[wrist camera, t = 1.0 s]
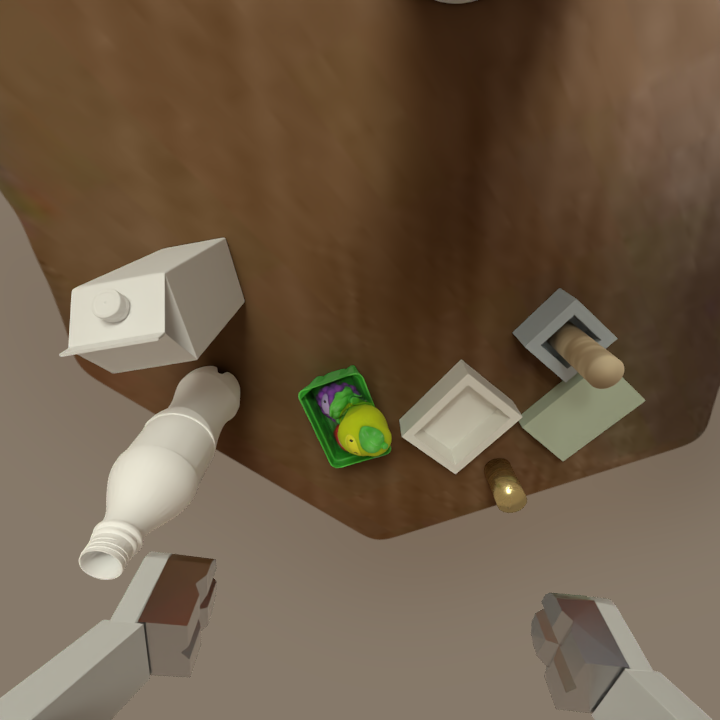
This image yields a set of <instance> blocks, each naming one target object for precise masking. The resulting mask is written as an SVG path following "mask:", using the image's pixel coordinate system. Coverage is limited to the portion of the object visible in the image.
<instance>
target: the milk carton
mask: <svg viewBox="0 0 720 720" xmlns="http://www.w3.org/2000/svg"><path fill="white" fill-rule="evenodd" d="M244 302H245V300H244V297H243V294H242V290H241V287H240V284H239V281H238V277H237V274H236V271H235V268H234V264H233V261H232V258H231V255H230V251H229V248H228V245H227V242H226V239H225V238H219V239H213V240H208V241H202V242H197V243H191V244H186V245H181V246H175V247H170V248H165V249H161V250H159V251H157V252H154V253H152V254H150V255H148V256H145V257H143V258H141V259H139V260H137V261H134V262H132V263H130V264H128V265H125V266H123V267H121V268H119V269H116V270H114V271H112V272H110V273H107V274H105V275H103V276H101V277H98V278H96V279H94V280H92V281H89V282H87V283H85V284H83V285H81V286H78V287H76V288H75V289H73V290H72V297H71V313H70V330H69V346H68V349H67V350H65V351H63V352H62V353H60V354H59V355H60V357H62V356H68V355H74V354H78V355H80V356H82V357H83V358H85V359H87V360H89V361H91V362H93V363H95V364H96V365H98V366H100V367H102V368H104V369H106V370H108V371H110V372H111V373H120V372H126V371H132V370H138V369H145V368H151V367H157V366H163V365H169V364H176V363H182V362H188V361H194V360H198V358H199V357H200V356H201V354H202V353H203V352H204V351H205V350H206V348H207V347H208V346H209V345H210V343H211V342H212V341H213V340H214V339H215V337H216V336H217V335H218V334H219V333H220V331H221V330H222V329H223V328H224V327H225V325H226V324H227V323H228V322H229V321H230V319H231V318H232V317H233V316H234V314H235V313H236V312H237V311H238V310H239V308H240V307H241V306H242V305H243V304H244Z"/></svg>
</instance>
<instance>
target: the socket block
mask: <svg viewBox="0 0 720 720" xmlns="http://www.w3.org/2000/svg"><path fill="white" fill-rule="evenodd" d="M568 320H569V321H570V322H571V323H573V324H574V325H575V326H577V327H578V328H579V329H580V330H582V331H583V332H584V333H586V334H587V335H588V336H589V337H591V338H592V339H593V340H595V341H596V342H597V343H598V344H600V345H601V346H602V347H604V348H605V349H606V348H607V347H608V346H610V345H611V344H612V343H613V342H614V341H615V340H617V339H618V338H617V337H616V336H615V335H614V334H612V333H611V332H610V331H609V330H608V329H607V328H606V327H605V326H604V325H603V324H602V323H601V322H600V321H599V320H598V319H597V318H596V317H595V316H594V315H593V314H592V313H591V312H590V311H589V310H588V309H587V308H586V307H585V306H583V305H582V304H581V303H580V302H579V301H578V300H577V299H576V298H575V297H573V296H571V295H570V294H568V293H567V292H565V291H564V290H562V289H561V288H559V289H558V290H557V291H556V292H555V293H554V294H552V295H551V296H550V297H549V298H548V299H547V300H546V301H545V302H544V303H543V304H542V305H541V306H540V307H539V308H538V309H537V310H536V311H535V312H534V313H532V314H531V315H530V316H529V317H528V318H527V319H526V320H525V321H524V322H523V323H522V324H521V325H520V326H519V327H518V328H517V329H516V330H515V331H514V332H512V333H513V334H514V335H515V336H516V337H517V339H518V340H519V341H520V342H521V343H522V344H523V346H524V347H525V348H527V349H528V350H529V351H530V352H531V353H532V354H533V355H535V356H536V357H537V358H538V359H539V360H540V361H541V362H543V363H544V364H545V365H546V366H547V367H548V368H550V369H551V370H552V371H553V372H554V373H555V374H556V375H558V376H559V377H560V378H561V379H562V380H563V381H564V382H567V381H568V380H569V379H571V378H572V377H573V376H574V375H575V374H577V373H578V372H577V371H576V370H575V369H574V368H573V367H572V366H571V365H570V364H569V363H568V362H567V361H566V360H565V359H564V358H563V357H562V356H561V355H560V354H559V353H558V352H557V351H556V350H555V349H554V348H553V347H552V346H551V345H550V344H549V343H548V342H547V341H546V340H547V339H548V338H550V337H551V336H552V335H553V334H554V333H555V332H556V331H557V330H558V329H559V328H561V327H562V326H563V325H564V324H565V323H566V322H567V321H568Z"/></svg>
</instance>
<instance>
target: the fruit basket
mask: <svg viewBox="0 0 720 720" xmlns="http://www.w3.org/2000/svg"><path fill="white" fill-rule="evenodd" d="M298 398H299V400H300V402H301V404H302V406H303V408H304V410H305V413H306V415H307V416H308V418H309V421H310V423H311V425H312V427H313V429H314V431H315V433H316V436H317V438H318V440H319V442H320V444H321V446H322V448H323V450H324V452H325V454H326V456H327V459H328V461H329V463H330V465H331V466H332V467H335V468H342V467H345V466H349V465H352V464H355V463H359V462H362V461H366V460H369V459H373V458H377V457H381V456H384V455H387V454H389V453H390V451H391V446H390V444H391V439H392V437H391V433H390V431H389V429H388V425H387V422H386V419H385V417H384V416H383V414H382V413H381V412H380V411H379V410H378V409H377V408H375V406H374V403H373V401H372V398H371V396H370V393H369V391H368V388H367V385H366V383H365V380H364V378H363V376H362V375H361V374H360V373H359V372H358V370H357V368H356V367H355V366H354V365H352V366H350V367H348V368H347V369H340V370H337V371H334V372H330V373H327V374H326V375H325V376H318V377H316V378H315V379H314V380H313V381H312V382H311V383H310V384H309V385H308V386H307V387H305V388H304V389H303V390H301V391H300V392H299V395H298Z"/></svg>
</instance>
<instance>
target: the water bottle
mask: <svg viewBox="0 0 720 720" xmlns="http://www.w3.org/2000/svg"><path fill="white" fill-rule="evenodd" d="M239 406H240V386H239V383H238V381H237V379H236V378H235V377H234V375H232V374H231V373H229V372H226V373H223V374H220V373H218V370H217V367H214V366H204V367H200V368H197V369H195V370H193V371H191V372H190V373H189V374H187V375H186V376H185V377H184V378H183V379H182V380H181V381H180V383H179V384H178V386H177V389H176V392H175V395H174V398H173V400H172V403H171V404H170V406H169V407H168V409H165V410H163V411H161V412H159V413H157V414H156V415H154V416H153V417H152V418H151V419H150V420H149V421H148V422H147V423H146V424H145V426H144V429H143V430H142V432H141V433H140V434H139V435H138V437H137V438H136V439H135V440H134V442H133V443H132V444H131V445H130V446H129V448H128V449H127V450H126V451H124V452H123V453H122V454H121V455H120V456H119V457H118V459H117V460H116V462H115V463H114V465H113V467H112V469H111V471H110V474H109V479H108V483H107V495H106V514H105V517H104V520H103V521H102V522H100V523H99V524H97V526H96V527H95V528H94V530H93V533H92V535H91V538H90V542H89V543H88V545H87V546H86V547H85V549H84V550H83V551H82V553H81V555H80V558H79V560H78V561H79V565H80V567H81V568H82V570H83V571H84V572H85V573H87V574H88V575H90V576H92V577H95V578H98V579H104V580H109V579H114V578H116V577H118V576H120V575H121V573H122V572H123V570H124V569H125V568H126V566H127V564H128V563H129V560H130V559H131V558H133V557H134V556H135V554H136V553H137V552H139V550H140V549H141V548H142V546H143V542H144V541H143V539H144V538H145V537H146V535H148V534H149V533H150V532H151V531H153V530H155V529H156V528H158V527H159V526H161V525H163V524H165V523H167V522H168V521H170V520H171V519H173V518H174V517H176V516H177V515H178V514H180V513H181V512H182V511H183V510H185V508H186V507H187V506H188V505H189V504H190V503H191V501H192V500H193V498H194V497H195V495H196V493H197V490H198V486H199V484H200V482H201V480H202V478H203V476H204V474H205V472H206V470H207V468H208V466H209V464H210V463H211V462H212V460H213V458H214V455H215V450H216V445H217V441H218V438H219V435H220V432H221V430H222V428H223V426H224V425H225V424H226V422H227V421H229V420H231V419H232V418H233V417H234V416H235V415H236V413H237V411H238V409H239Z"/></svg>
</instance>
